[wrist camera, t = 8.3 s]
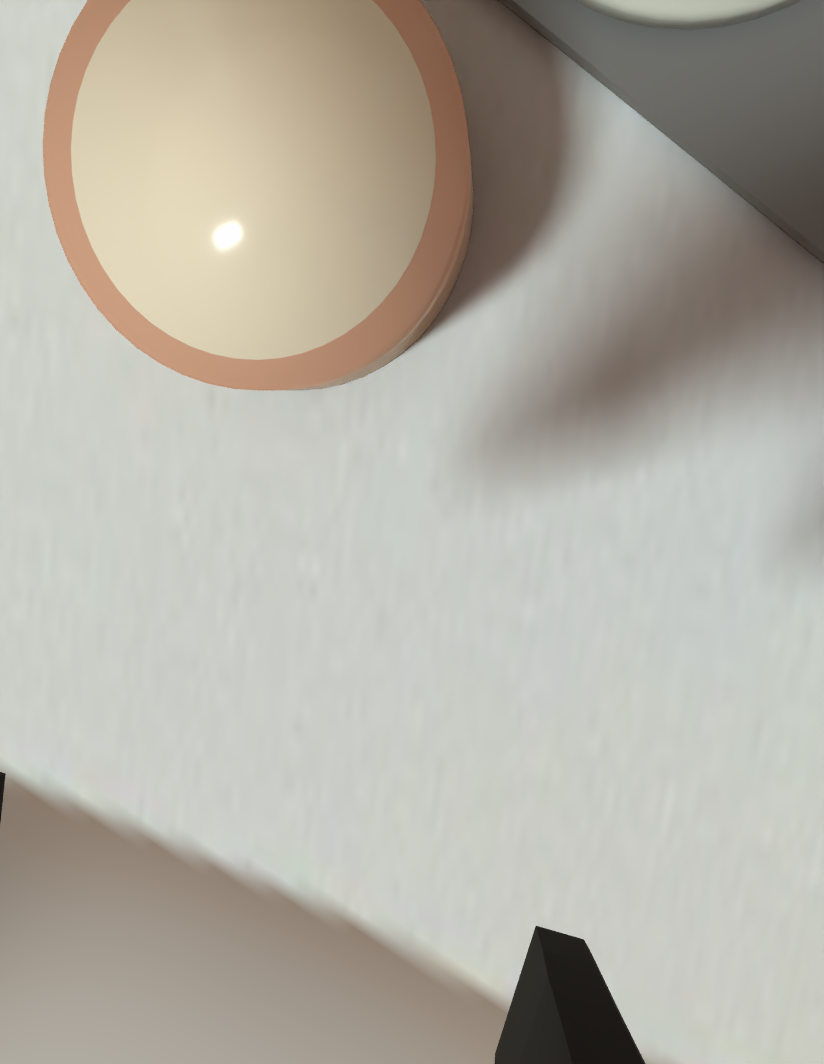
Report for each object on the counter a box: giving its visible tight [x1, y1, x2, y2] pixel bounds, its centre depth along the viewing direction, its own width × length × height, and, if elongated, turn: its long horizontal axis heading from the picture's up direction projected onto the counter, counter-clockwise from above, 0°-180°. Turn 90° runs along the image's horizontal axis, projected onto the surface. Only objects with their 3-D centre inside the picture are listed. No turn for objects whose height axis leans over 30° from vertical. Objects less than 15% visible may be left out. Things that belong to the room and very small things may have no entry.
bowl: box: [43, 0, 474, 390], centre depth 15 cm, size 8×8×3 cm
